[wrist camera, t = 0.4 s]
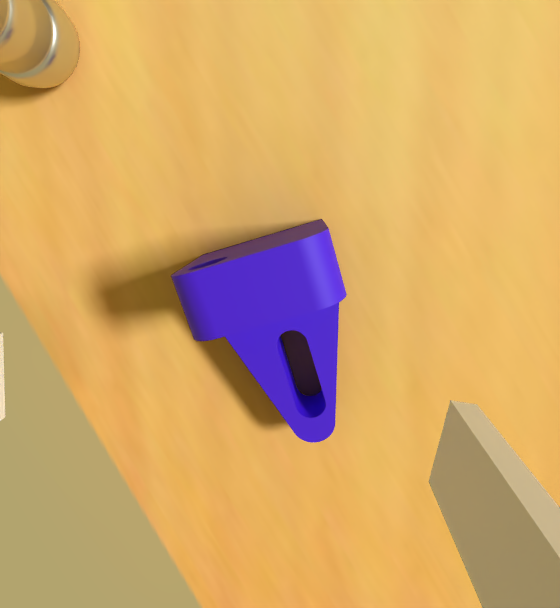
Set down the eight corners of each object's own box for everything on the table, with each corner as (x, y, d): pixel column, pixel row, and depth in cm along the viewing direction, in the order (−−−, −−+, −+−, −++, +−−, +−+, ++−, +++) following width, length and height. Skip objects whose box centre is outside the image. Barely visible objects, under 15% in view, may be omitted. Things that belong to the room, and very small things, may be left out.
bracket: (202, 254, 39) (162, 280, 28) (321, 218, 38) (330, 230, 26) (263, 430, 43) (249, 516, 32) (372, 403, 42) (399, 482, 30)
